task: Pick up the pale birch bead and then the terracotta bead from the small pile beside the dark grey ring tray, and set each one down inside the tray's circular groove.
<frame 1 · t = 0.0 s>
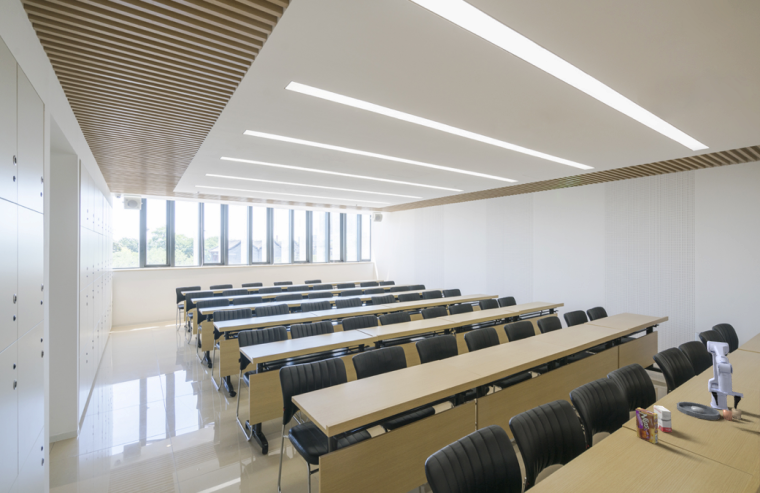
hand: (726, 406, 203), 10 cm above the table, tool pointing down, fingers open, 7 cm apart
terracotta bead: (727, 419, 209), on the table
candy box: (647, 439, 187), on the table
groove tray: (697, 412, 218), on the table
ink box: (662, 429, 198), on the table
birch bead: (736, 418, 210), on the table
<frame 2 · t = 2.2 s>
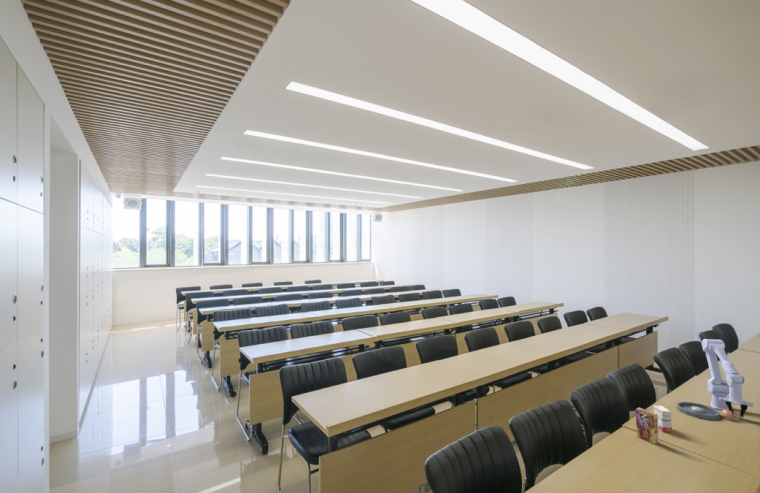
hand: (736, 415, 210), 1 cm above the table, tool pointing down, fingers closed on birch bead, 4 cm apart
birch bead: (736, 418, 210), on the table, touching gripper
everything else where it was.
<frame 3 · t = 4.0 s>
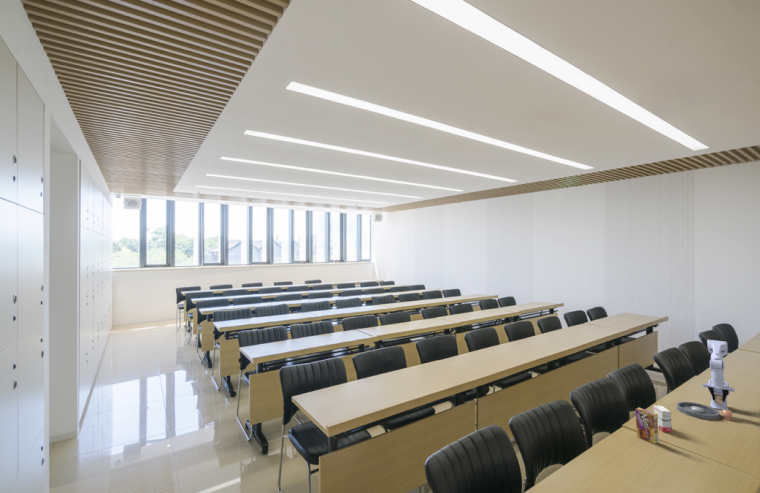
hand: (718, 400, 216), 8 cm above the table, tool pointing down, fingers closed on birch bead, 4 cm apart
birch bead: (718, 403, 216), point 7 cm above the table, touching gripper
everything else where it was.
when the fingers open (4 cm above the table, at t = 6.0 s): birch bead drops 1 cm, resting on groove tray.
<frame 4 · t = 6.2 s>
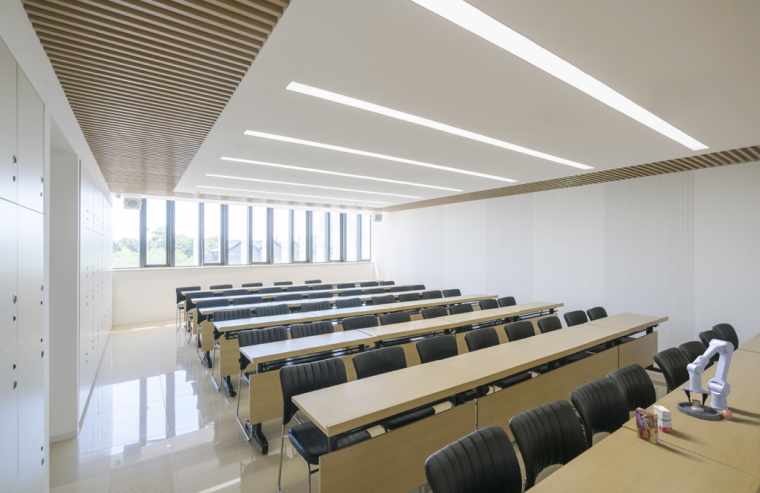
hand: (696, 403, 223), 4 cm above the table, tool pointing down, fingers open, 6 cm apart
birch bead: (696, 408, 223), point 1 cm above the table, touching groove tray
everything else where it was.
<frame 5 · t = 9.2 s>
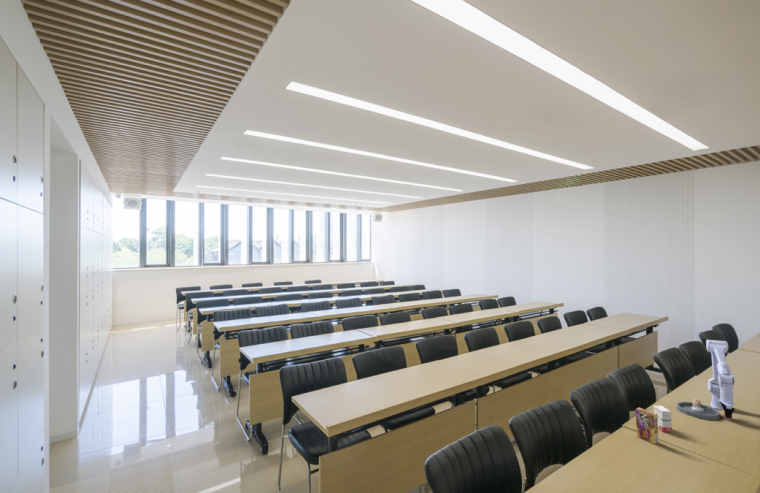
hand: (727, 416, 209), 1 cm above the table, tool pointing down, fingers closed on terracotta bead, 4 cm apart
terracotta bead: (727, 419, 209), on the table, touching gripper
everything else where it was.
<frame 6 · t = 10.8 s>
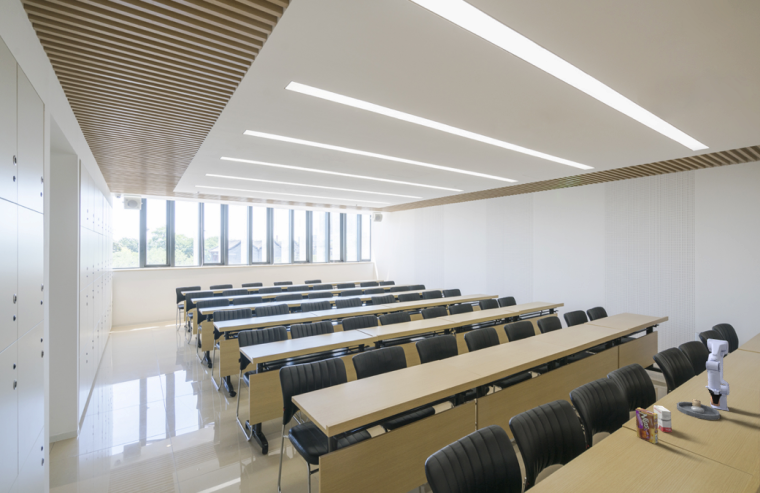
hand: (715, 402, 213), 8 cm above the table, tool pointing down, fingers closed on terracotta bead, 4 cm apart
terracotta bead: (715, 404, 213), point 7 cm above the table, touching gripper
everything else where it was.
when the fingers open (4 cm above the table, at t = 12.3 s): terracotta bead drops 1 cm, resting on groove tray.
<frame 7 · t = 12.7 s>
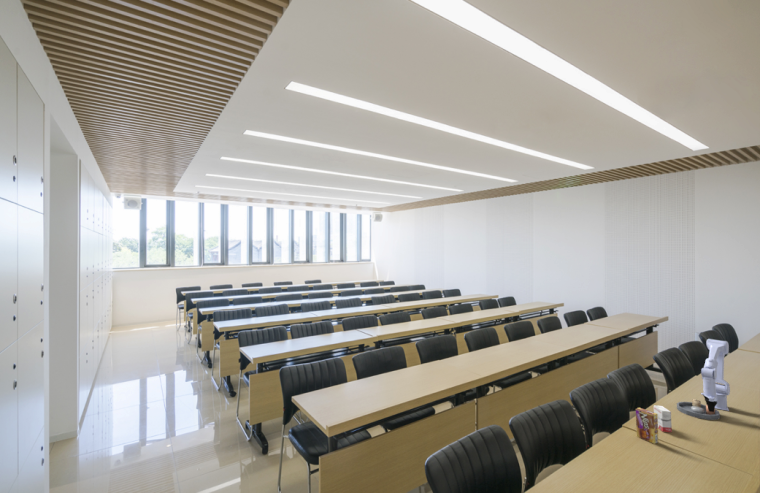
hand: (710, 409, 215), 4 cm above the table, tool pointing down, fingers open, 7 cm apart
terracotta bead: (710, 414, 215), point 1 cm above the table, touching groove tray
everything else where it was.
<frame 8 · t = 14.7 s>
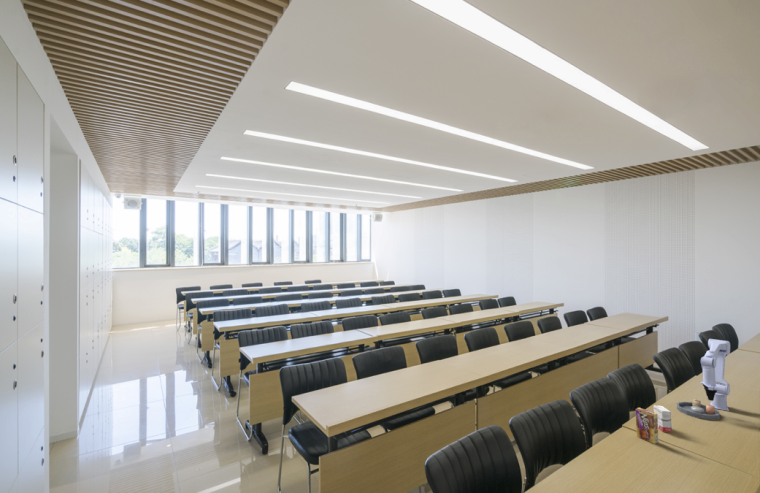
hand: (709, 398, 215), 10 cm above the table, tool pointing down, fingers open, 7 cm apart
nothing on the table moved.
at the end: birch bead 0.1 cm from the target spot on the groove tray, point 0.6 cm above the groove tray's base; terracotta bead 0.0 cm from the target spot on the groove tray, point 0.6 cm above the groove tray's base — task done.
